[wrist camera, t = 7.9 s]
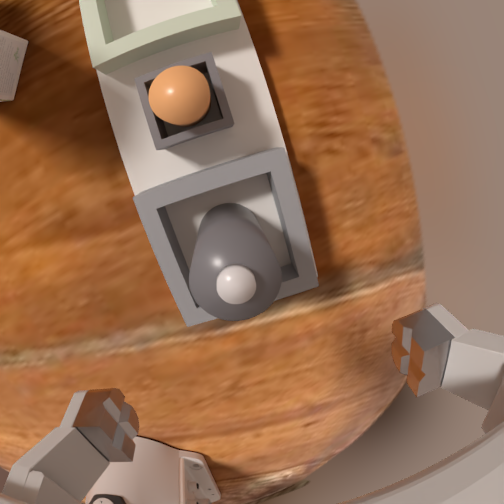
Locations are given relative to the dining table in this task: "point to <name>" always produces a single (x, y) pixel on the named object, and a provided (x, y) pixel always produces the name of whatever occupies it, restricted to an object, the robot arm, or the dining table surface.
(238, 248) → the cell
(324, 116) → the dining table surface
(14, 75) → the syrup box
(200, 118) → the brown egg
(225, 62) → the grey compartment tray
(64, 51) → the dining table surface
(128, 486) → the robot arm
